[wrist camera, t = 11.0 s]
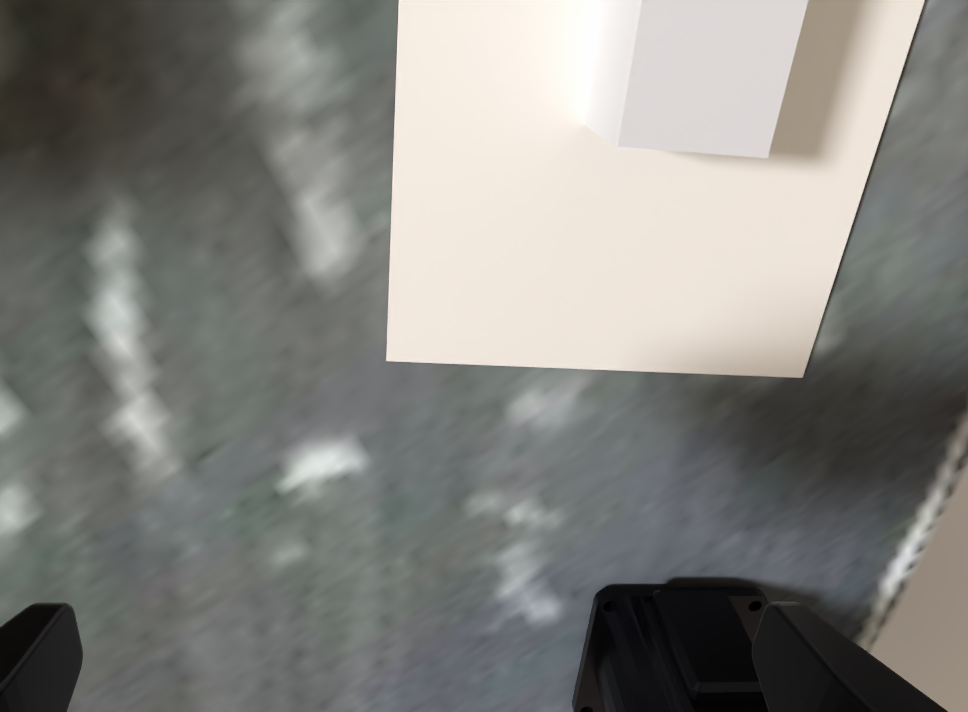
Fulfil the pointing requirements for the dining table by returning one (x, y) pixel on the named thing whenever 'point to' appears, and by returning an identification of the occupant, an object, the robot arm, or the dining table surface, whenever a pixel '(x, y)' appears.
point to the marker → (692, 73)
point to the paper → (618, 199)
